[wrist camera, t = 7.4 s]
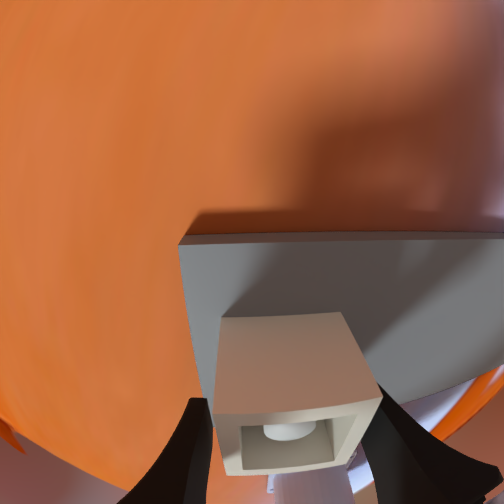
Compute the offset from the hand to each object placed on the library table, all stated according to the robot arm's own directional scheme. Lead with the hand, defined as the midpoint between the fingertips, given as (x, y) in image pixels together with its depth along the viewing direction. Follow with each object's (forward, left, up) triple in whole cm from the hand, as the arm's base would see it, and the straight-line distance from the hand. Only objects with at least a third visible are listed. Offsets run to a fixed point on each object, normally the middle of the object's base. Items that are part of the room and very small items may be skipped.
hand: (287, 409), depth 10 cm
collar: (0, 0, -3) cm, 3 cm away
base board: (0, -9, -4) cm, 10 cm away
